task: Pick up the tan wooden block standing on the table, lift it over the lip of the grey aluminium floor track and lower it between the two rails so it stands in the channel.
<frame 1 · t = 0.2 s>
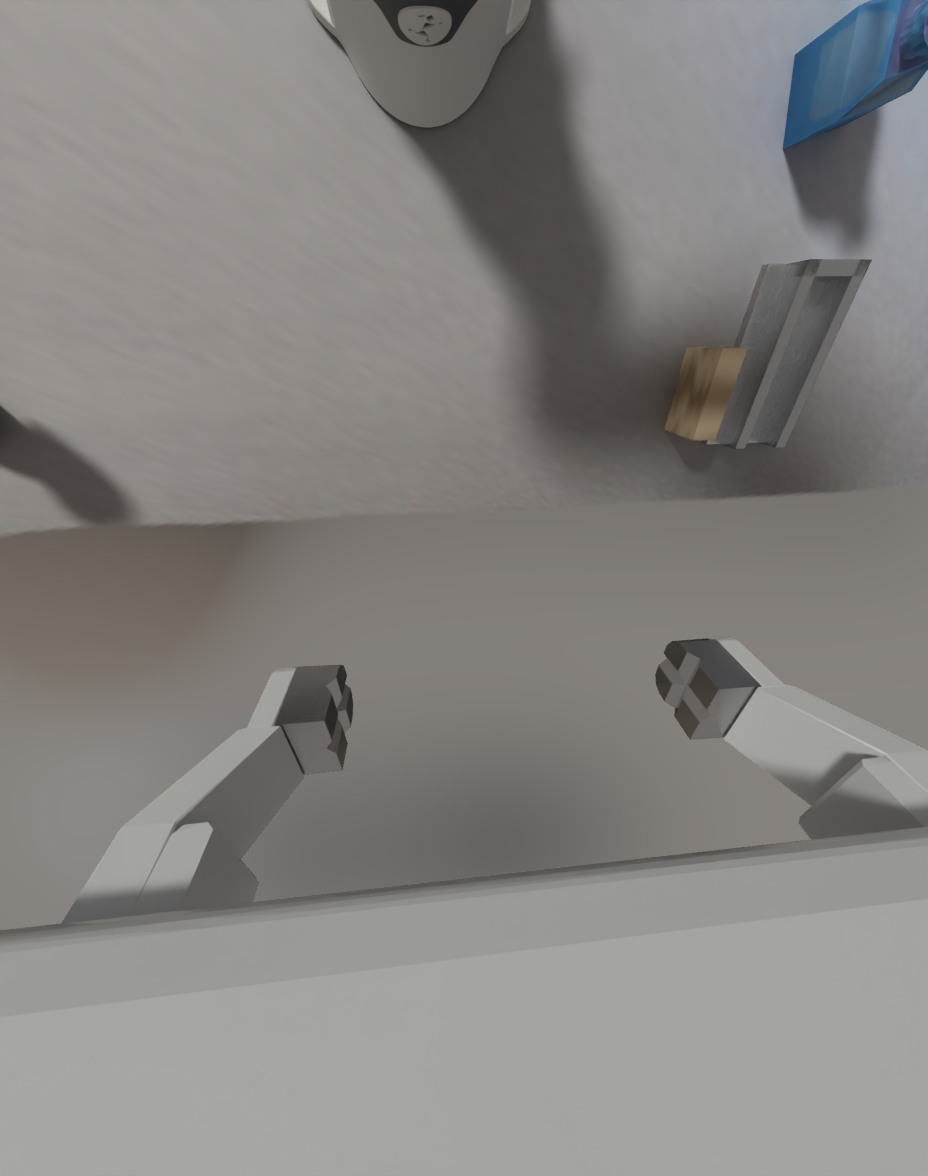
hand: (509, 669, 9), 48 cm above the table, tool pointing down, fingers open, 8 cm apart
tan wooden block: (685, 390, 50), on the table
floor track: (770, 363, 49), on the table
perfume bottle: (819, 91, 36), on the table
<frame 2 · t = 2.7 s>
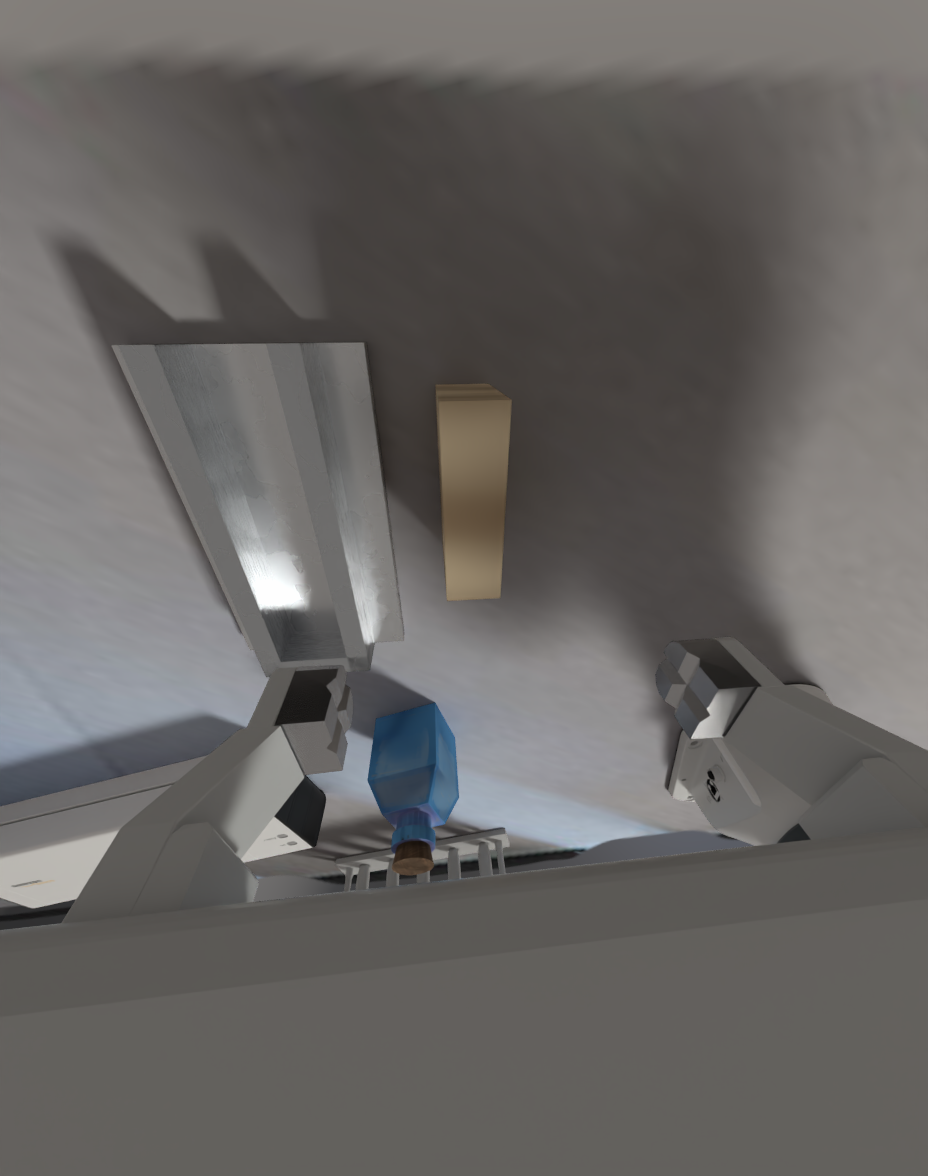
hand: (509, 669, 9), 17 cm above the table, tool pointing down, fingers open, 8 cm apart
tan wooden block: (462, 472, 24), on the table
floor track: (298, 523, 24), on the table
laminator: (164, 792, 41), on the table
test tube rack: (423, 847, 54), on the table
perfume bottle: (417, 726, 38), on the table
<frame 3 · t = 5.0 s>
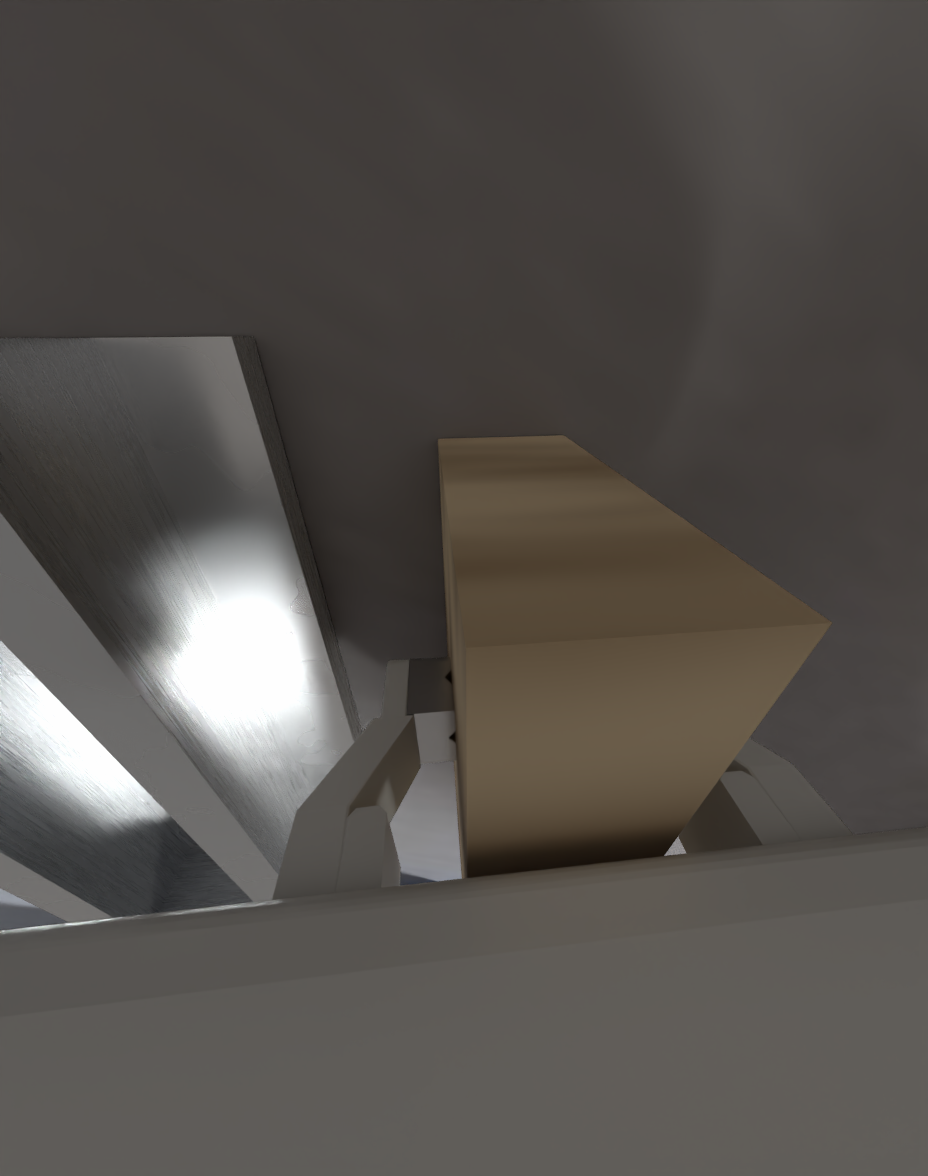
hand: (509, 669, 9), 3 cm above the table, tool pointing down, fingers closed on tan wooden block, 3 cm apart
tan wooden block: (493, 606, 11), on the table, touching gripper
floor track: (167, 697, 12), on the table
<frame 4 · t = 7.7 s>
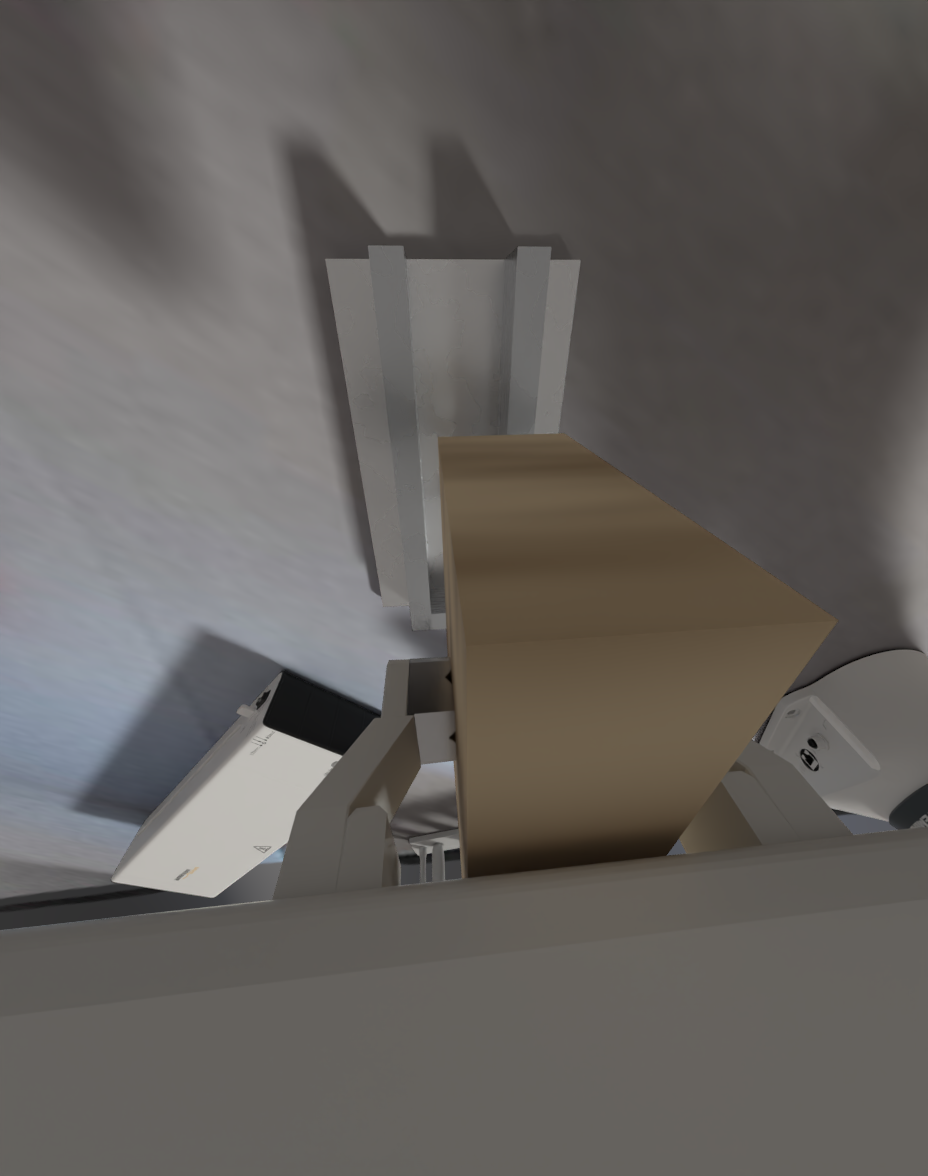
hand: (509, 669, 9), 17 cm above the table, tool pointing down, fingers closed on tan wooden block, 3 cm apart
tan wooden block: (493, 605, 11), point 15 cm above the table, touching gripper
floor track: (458, 468, 24), on the table
laminator: (252, 767, 41), on the table
test tube rack: (496, 825, 53), on the table
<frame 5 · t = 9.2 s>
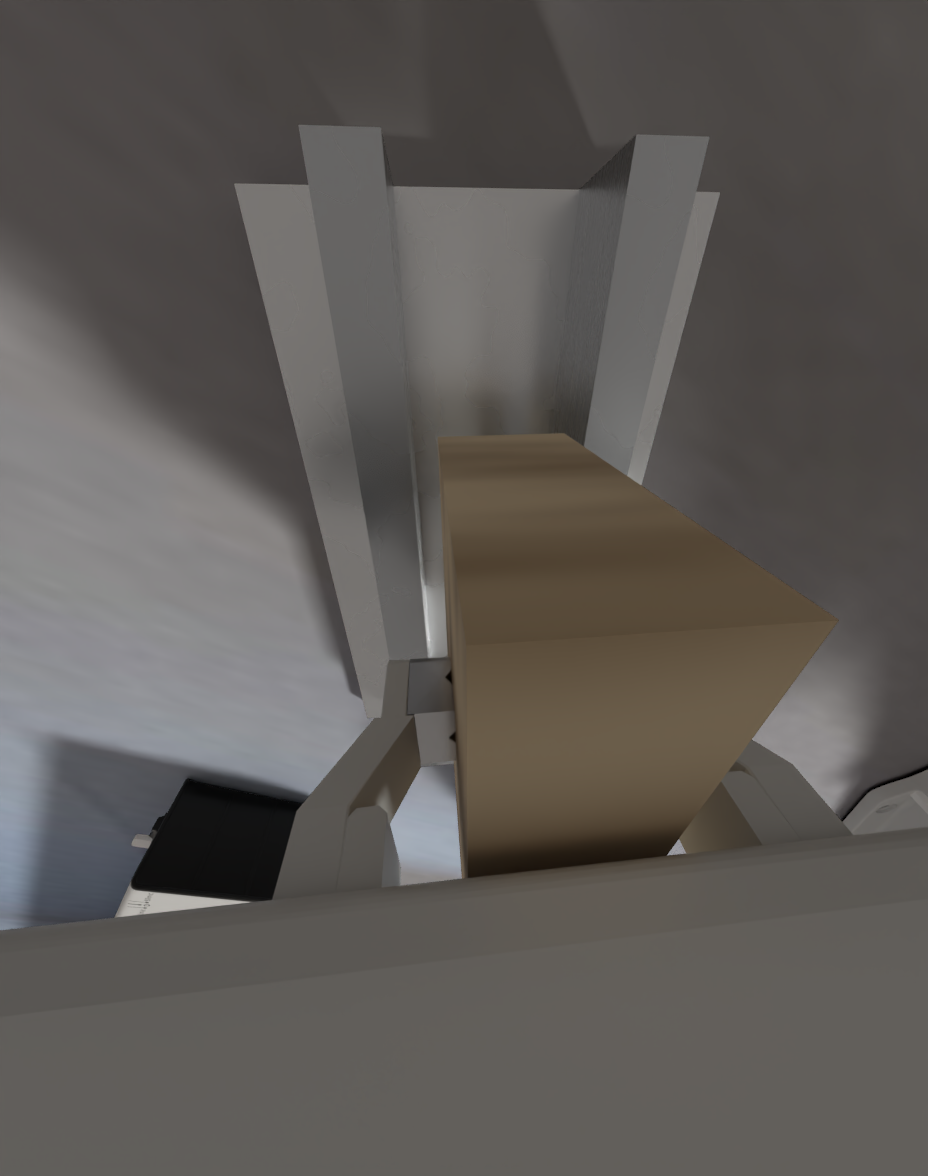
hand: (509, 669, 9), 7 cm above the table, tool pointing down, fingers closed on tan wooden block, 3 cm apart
tan wooden block: (493, 605, 11), point 5 cm above the table, touching gripper
floor track: (477, 538, 15), on the table
laminator: (209, 875, 33), on the table
when the fingers open (6 cm above the table, at t = 10.3 s): tan wooden block drops 2 cm, resting on floor track.
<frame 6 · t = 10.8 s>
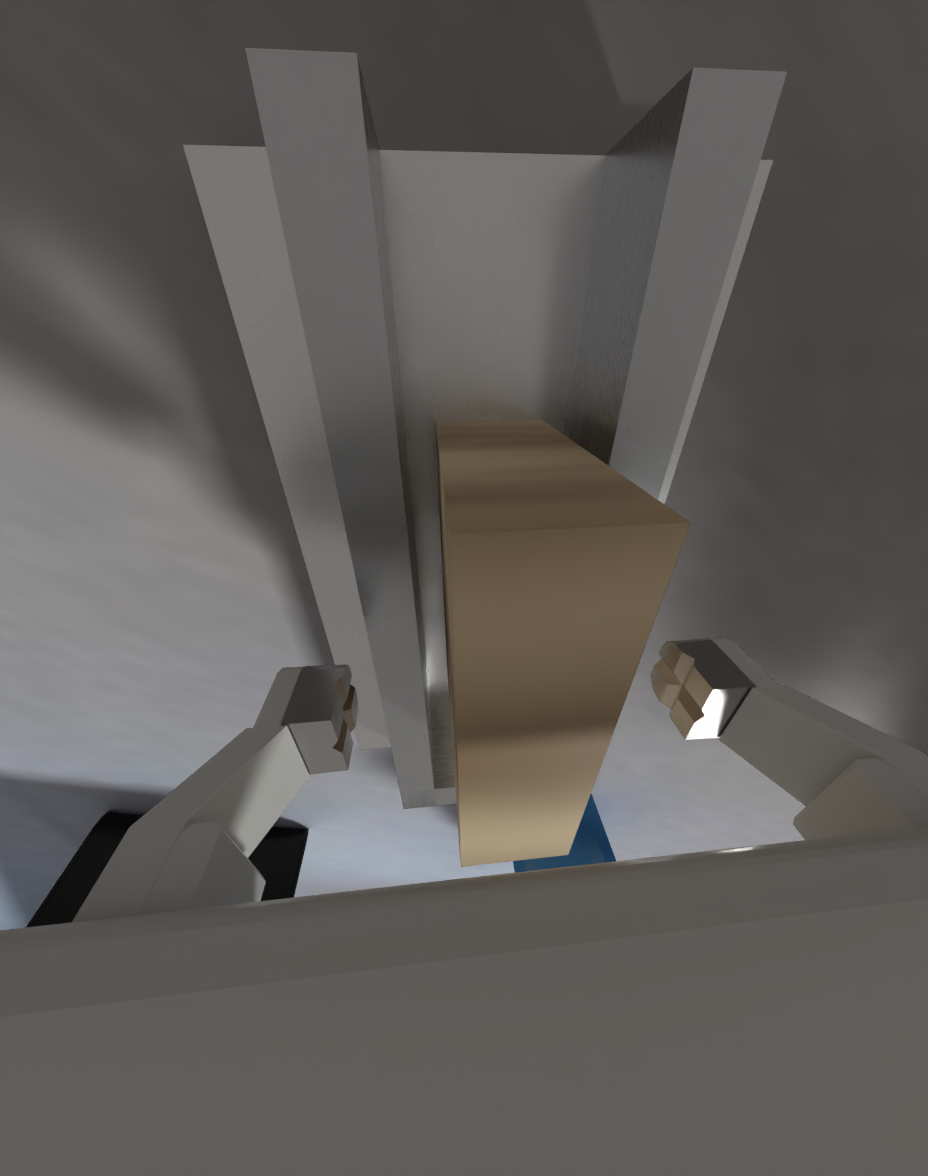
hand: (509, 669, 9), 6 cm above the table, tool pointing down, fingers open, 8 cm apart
tan wooden block: (484, 573, 13), point 1 cm above the table, touching floor track
floor track: (480, 559, 14), on the table
laminator: (197, 902, 31), on the table
perfume bottle: (554, 819, 27), on the table
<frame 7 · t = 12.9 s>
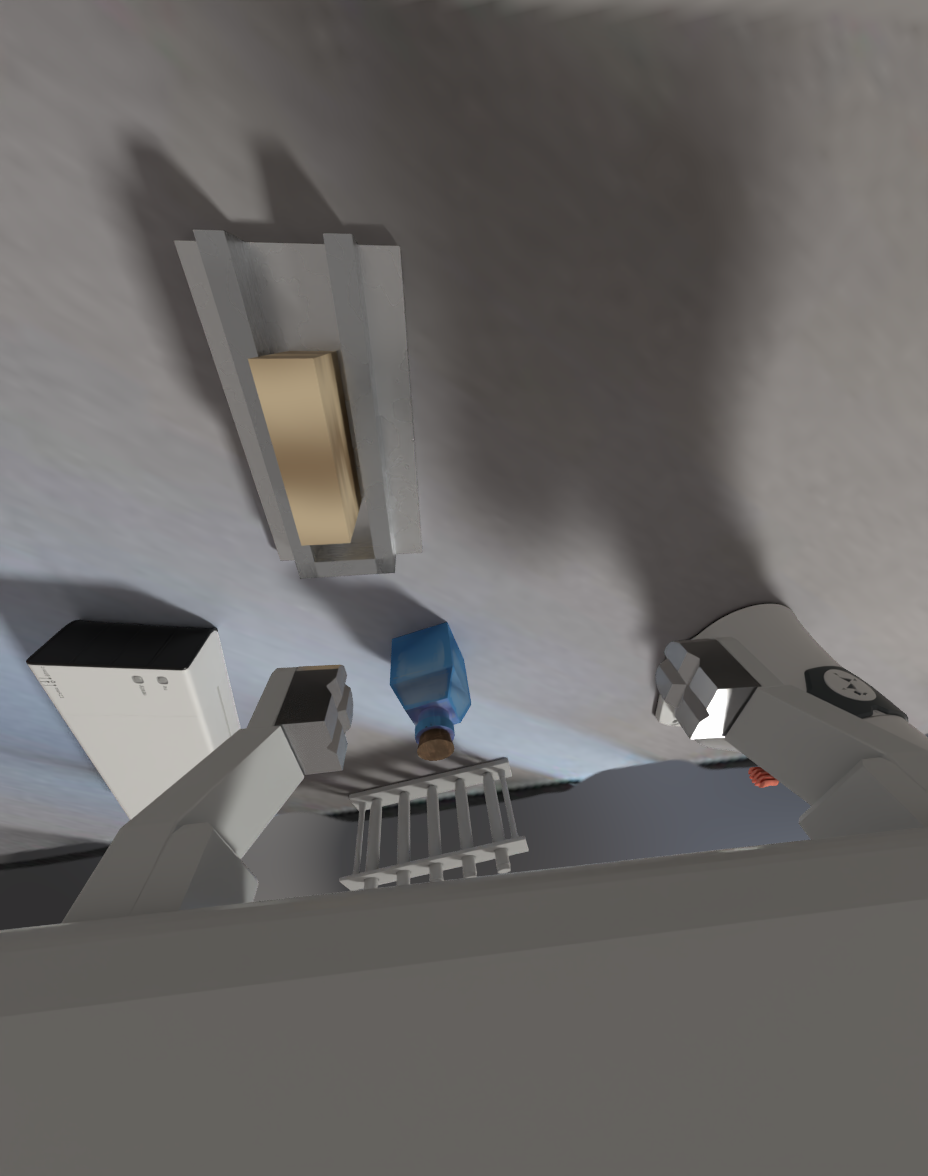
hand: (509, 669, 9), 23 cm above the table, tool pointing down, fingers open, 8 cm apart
tan wooden block: (328, 434, 26), point 1 cm above the table, touching floor track
floor track: (330, 431, 27), on the table
laminator: (186, 724, 44), on the table
test tube rack: (431, 781, 58), on the table
perfume bottle: (429, 648, 41), on the table
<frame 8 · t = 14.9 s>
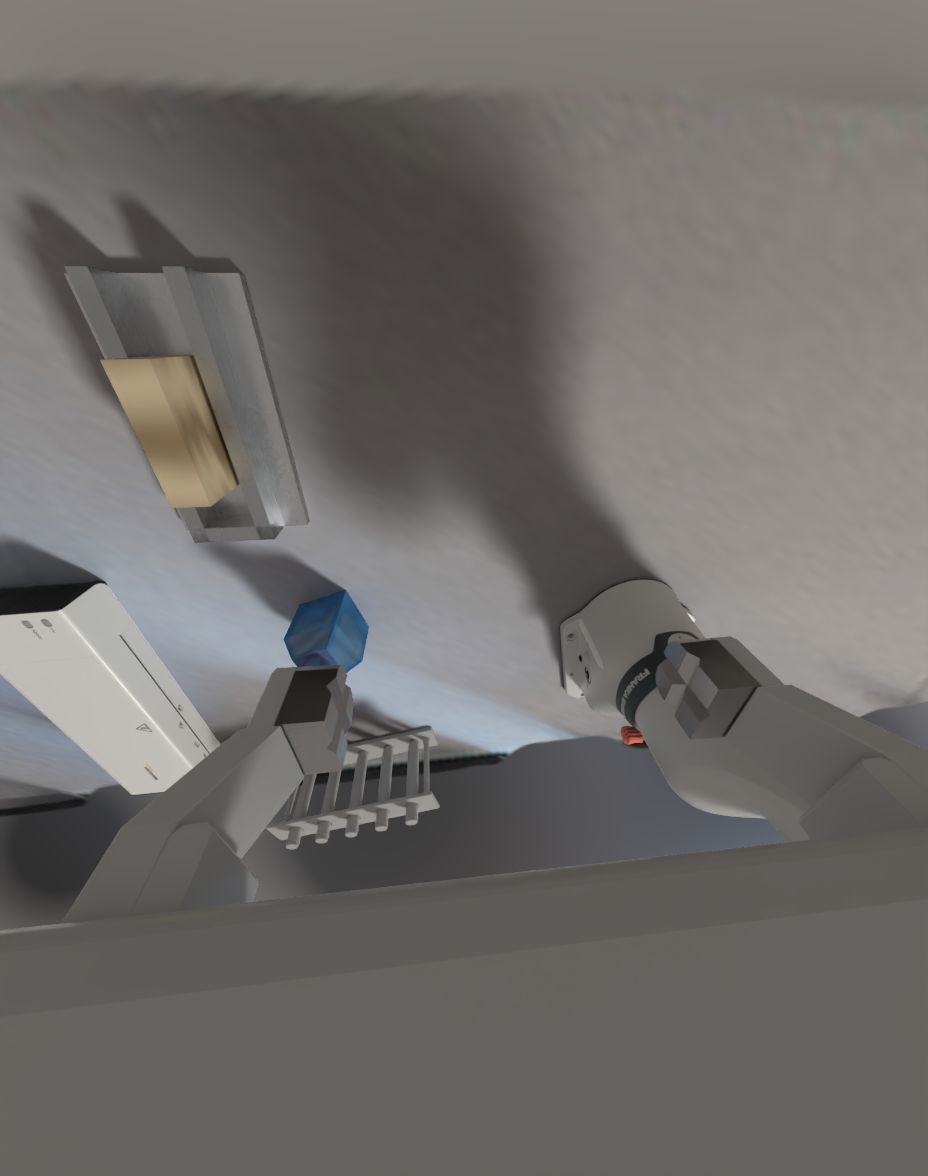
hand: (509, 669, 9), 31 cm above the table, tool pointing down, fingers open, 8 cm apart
tan wooden block: (208, 422, 32), point 1 cm above the table, touching floor track
floor track: (213, 420, 33), on the table
laminator: (131, 682, 50), on the table
test tube rack: (364, 747, 63), on the table
perfume bottle: (335, 615, 47), on the table
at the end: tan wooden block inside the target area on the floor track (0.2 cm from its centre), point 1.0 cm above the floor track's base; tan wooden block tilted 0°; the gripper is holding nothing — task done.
